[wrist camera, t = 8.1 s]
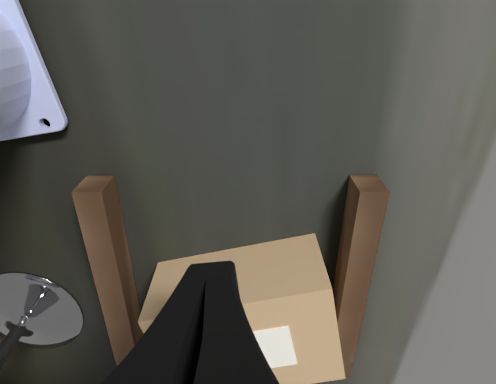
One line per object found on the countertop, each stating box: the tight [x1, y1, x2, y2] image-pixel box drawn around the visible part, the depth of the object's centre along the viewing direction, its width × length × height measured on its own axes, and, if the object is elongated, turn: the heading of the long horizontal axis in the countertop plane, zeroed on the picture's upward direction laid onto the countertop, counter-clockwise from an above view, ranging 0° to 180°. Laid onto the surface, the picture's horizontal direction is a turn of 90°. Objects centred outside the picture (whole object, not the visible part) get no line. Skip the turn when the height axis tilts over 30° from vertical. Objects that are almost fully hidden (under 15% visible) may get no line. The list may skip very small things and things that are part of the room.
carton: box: [138, 233, 346, 384], centre depth 21 cm, size 10×7×5 cm
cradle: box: [71, 175, 390, 377], centre depth 22 cm, size 16×14×2 cm
